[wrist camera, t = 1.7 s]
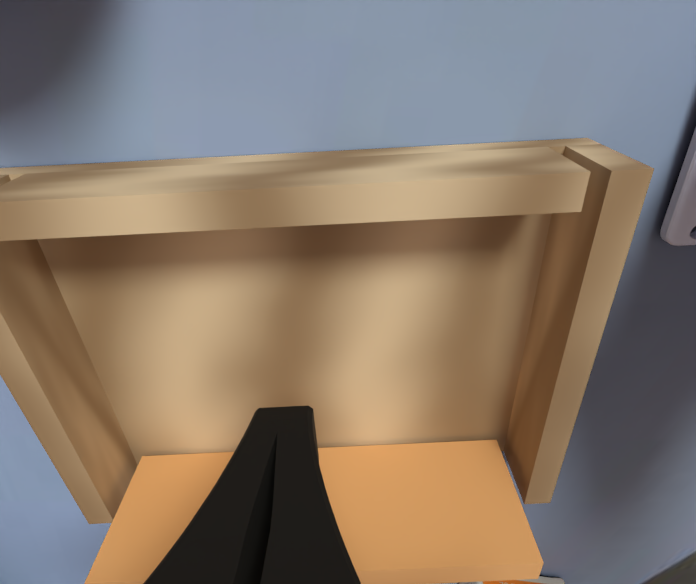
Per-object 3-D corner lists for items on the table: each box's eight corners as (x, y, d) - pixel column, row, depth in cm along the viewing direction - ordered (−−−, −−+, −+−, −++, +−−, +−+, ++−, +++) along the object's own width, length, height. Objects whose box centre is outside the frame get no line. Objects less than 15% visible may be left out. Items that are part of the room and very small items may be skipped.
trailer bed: (587, 137, 13) (653, 168, 11) (520, 435, 20) (550, 502, 17) (-8, 168, 13) (-100, 206, 11) (123, 453, 20) (89, 523, 17)
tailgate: (496, 439, 19) (543, 562, 14) (491, 464, 20) (535, 587, 15) (142, 456, 19) (84, 583, 15) (152, 480, 20) (100, 607, 15)
